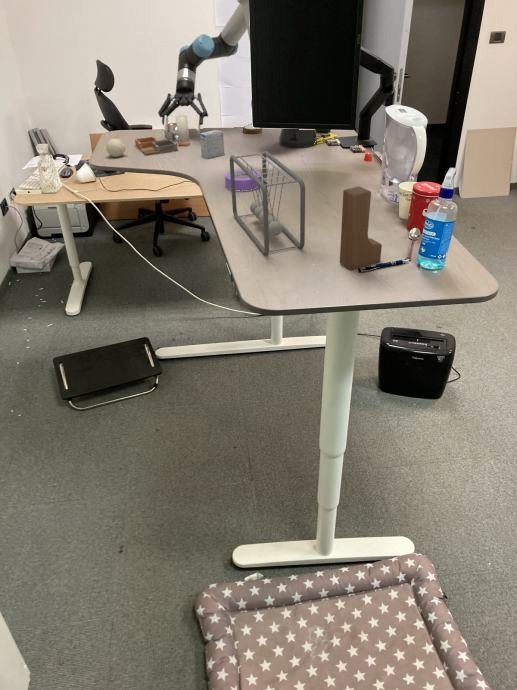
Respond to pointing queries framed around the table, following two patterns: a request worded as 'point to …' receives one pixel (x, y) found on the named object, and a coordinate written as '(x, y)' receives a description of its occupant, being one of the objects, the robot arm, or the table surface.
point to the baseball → (115, 147)
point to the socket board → (155, 145)
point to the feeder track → (172, 132)
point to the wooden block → (357, 230)
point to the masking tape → (241, 180)
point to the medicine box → (212, 144)
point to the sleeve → (182, 131)
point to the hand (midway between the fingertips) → (181, 131)
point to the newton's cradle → (262, 208)
